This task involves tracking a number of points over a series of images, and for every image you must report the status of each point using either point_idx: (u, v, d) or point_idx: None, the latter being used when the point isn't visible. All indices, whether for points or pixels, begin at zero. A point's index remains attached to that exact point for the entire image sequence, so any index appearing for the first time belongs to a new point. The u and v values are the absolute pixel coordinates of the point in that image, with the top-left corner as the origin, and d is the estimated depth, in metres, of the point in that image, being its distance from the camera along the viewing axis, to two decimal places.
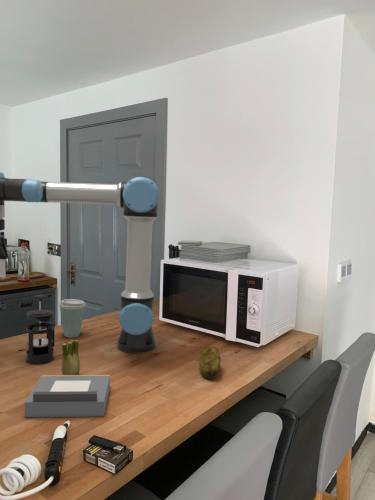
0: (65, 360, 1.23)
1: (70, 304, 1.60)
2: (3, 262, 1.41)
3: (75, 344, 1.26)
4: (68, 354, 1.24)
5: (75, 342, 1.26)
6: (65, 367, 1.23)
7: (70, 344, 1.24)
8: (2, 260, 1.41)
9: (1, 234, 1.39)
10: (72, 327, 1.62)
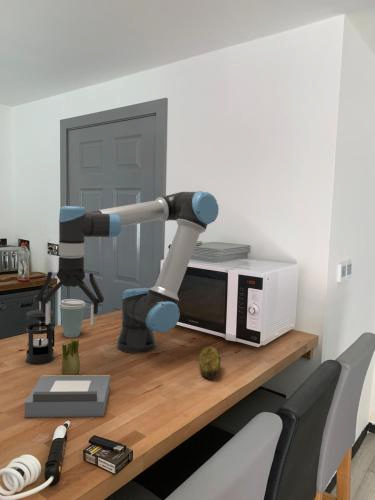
0: (65, 360, 1.23)
1: (70, 304, 1.60)
2: (91, 307, 1.24)
3: (75, 344, 1.26)
4: (68, 354, 1.24)
5: (75, 342, 1.26)
6: (65, 367, 1.23)
7: (70, 344, 1.24)
8: (91, 305, 1.24)
9: (89, 275, 1.23)
10: (72, 327, 1.62)
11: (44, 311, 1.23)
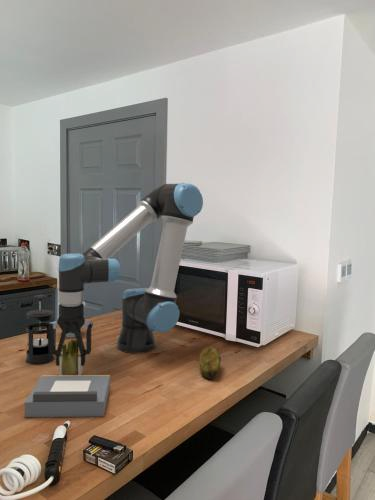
0: (65, 360, 1.23)
1: None
2: (78, 359, 1.25)
3: (75, 344, 1.26)
4: (68, 354, 1.24)
5: (75, 342, 1.26)
6: (65, 367, 1.23)
7: (70, 344, 1.24)
8: None
9: (88, 325, 1.24)
10: None
11: (58, 364, 1.25)
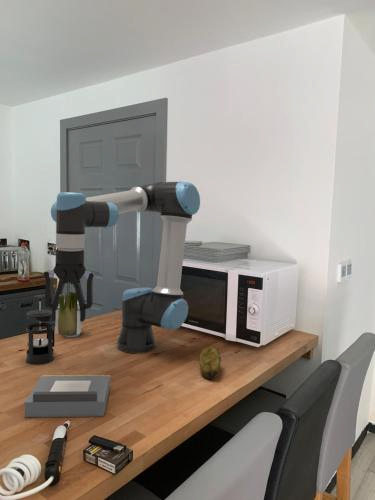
0: (62, 314, 1.08)
1: None
2: (77, 314, 1.09)
3: (74, 297, 1.11)
4: (66, 307, 1.09)
5: (74, 294, 1.11)
6: (62, 322, 1.08)
7: (68, 296, 1.08)
8: None
9: (89, 275, 1.09)
10: None
11: (54, 319, 1.09)
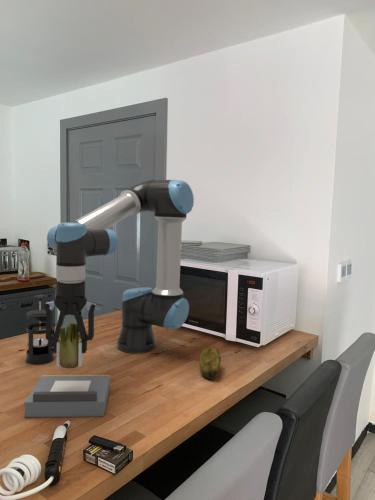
0: (64, 346, 1.06)
1: None
2: None
3: (75, 328, 1.09)
4: (67, 339, 1.06)
5: (75, 326, 1.08)
6: (63, 355, 1.06)
7: (69, 328, 1.06)
8: (79, 343, 1.08)
9: (90, 306, 1.07)
10: None
11: (55, 351, 1.07)
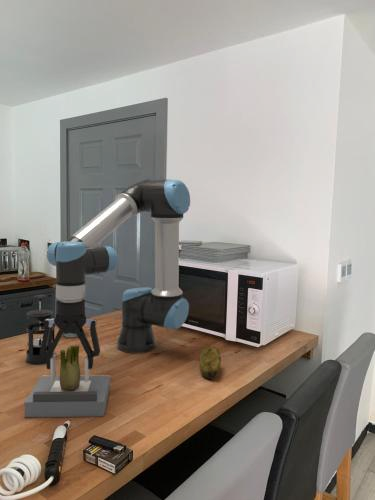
0: (64, 369, 1.06)
1: None
2: (85, 362, 1.08)
3: (75, 350, 1.09)
4: (67, 362, 1.07)
5: (75, 348, 1.09)
6: (64, 377, 1.06)
7: (69, 350, 1.07)
8: None
9: (90, 323, 1.07)
10: None
11: (49, 367, 1.08)
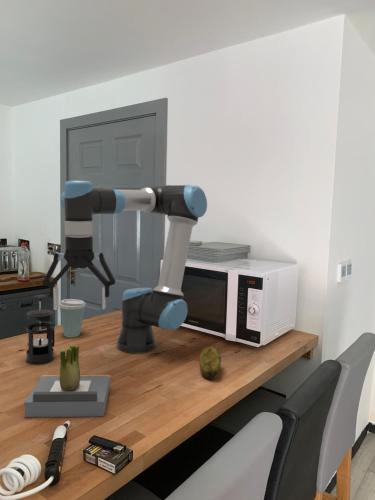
0: (64, 369, 1.06)
1: (70, 304, 1.60)
2: (102, 290, 1.15)
3: (75, 350, 1.09)
4: (67, 362, 1.07)
5: (75, 348, 1.09)
6: (64, 377, 1.06)
7: (69, 350, 1.07)
8: (102, 288, 1.15)
9: (99, 256, 1.13)
10: (72, 327, 1.62)
11: (52, 296, 1.13)
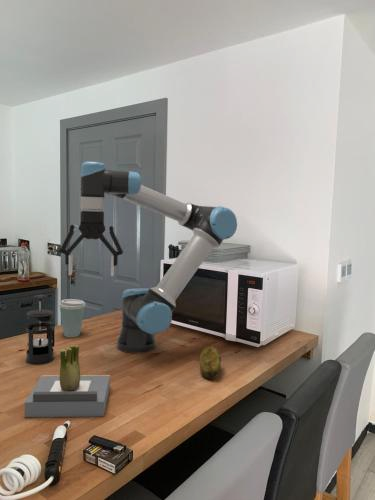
0: (64, 369, 1.06)
1: (70, 304, 1.60)
2: (111, 259, 1.31)
3: (75, 350, 1.09)
4: (67, 362, 1.07)
5: (75, 348, 1.09)
6: (64, 377, 1.06)
7: (69, 350, 1.07)
8: (111, 257, 1.31)
9: (109, 229, 1.30)
10: (72, 327, 1.62)
11: (67, 263, 1.30)
